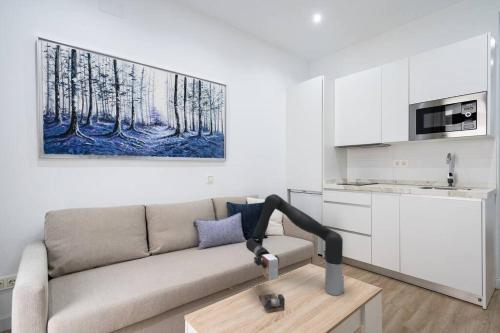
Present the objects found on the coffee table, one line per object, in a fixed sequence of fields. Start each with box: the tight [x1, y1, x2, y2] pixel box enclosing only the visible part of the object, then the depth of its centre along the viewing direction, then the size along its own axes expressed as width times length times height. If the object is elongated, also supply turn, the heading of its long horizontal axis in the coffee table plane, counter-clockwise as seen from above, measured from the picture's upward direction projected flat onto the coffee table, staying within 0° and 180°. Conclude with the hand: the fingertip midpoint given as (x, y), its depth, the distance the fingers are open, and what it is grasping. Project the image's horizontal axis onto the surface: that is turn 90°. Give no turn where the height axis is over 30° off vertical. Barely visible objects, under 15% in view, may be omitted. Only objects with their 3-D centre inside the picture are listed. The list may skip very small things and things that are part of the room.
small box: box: [261, 253, 279, 281], centre depth 128 cm, size 8×6×10 cm
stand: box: [258, 293, 286, 314], centre depth 126 cm, size 9×14×6 cm, turn 15°
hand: (271, 265), depth 126 cm, fingers closed on small box, 6 cm apart
